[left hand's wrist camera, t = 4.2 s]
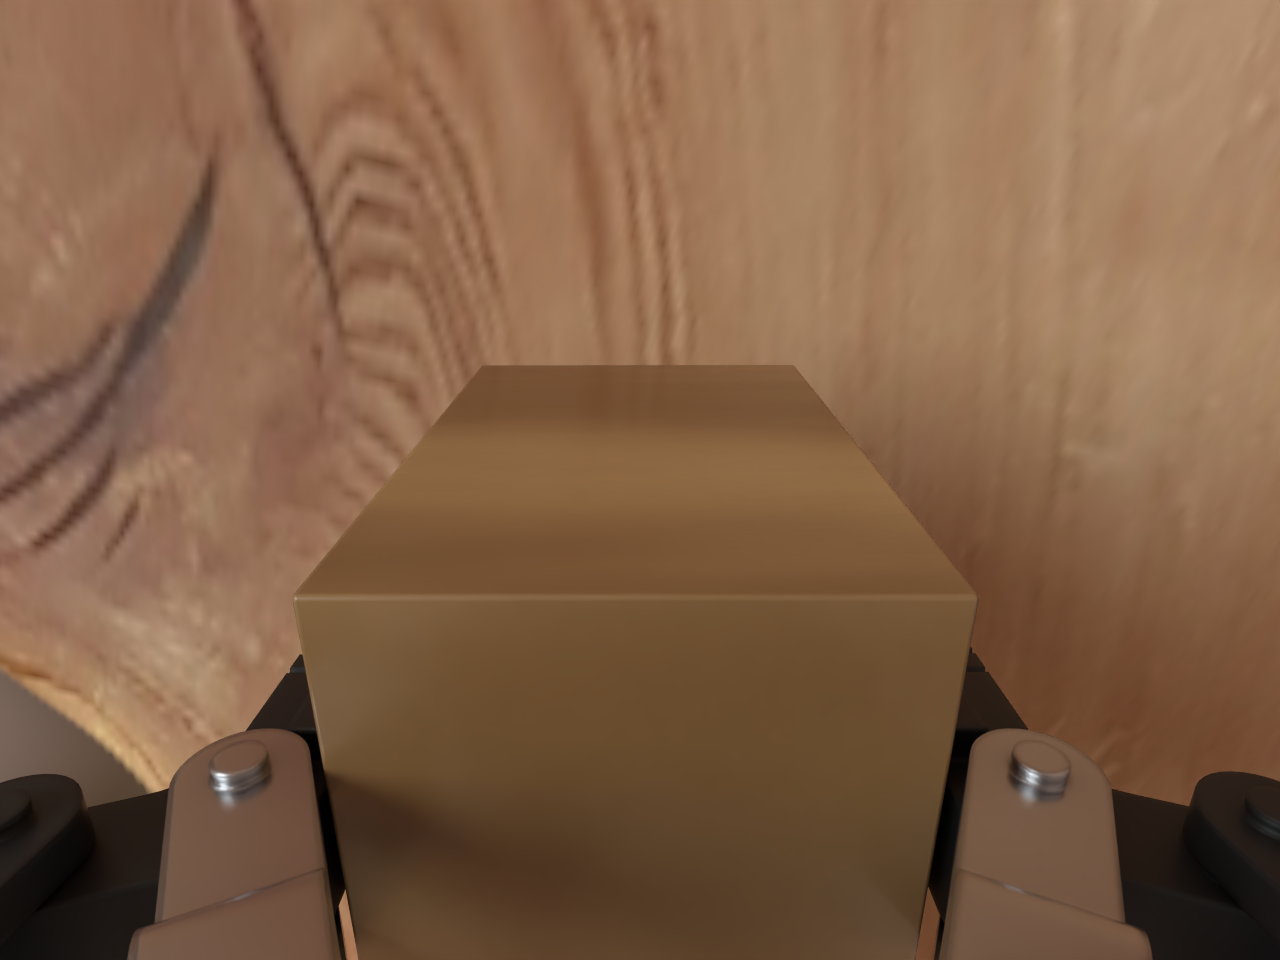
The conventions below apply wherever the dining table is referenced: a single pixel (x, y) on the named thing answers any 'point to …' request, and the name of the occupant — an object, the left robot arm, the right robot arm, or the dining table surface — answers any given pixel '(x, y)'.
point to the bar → (636, 678)
